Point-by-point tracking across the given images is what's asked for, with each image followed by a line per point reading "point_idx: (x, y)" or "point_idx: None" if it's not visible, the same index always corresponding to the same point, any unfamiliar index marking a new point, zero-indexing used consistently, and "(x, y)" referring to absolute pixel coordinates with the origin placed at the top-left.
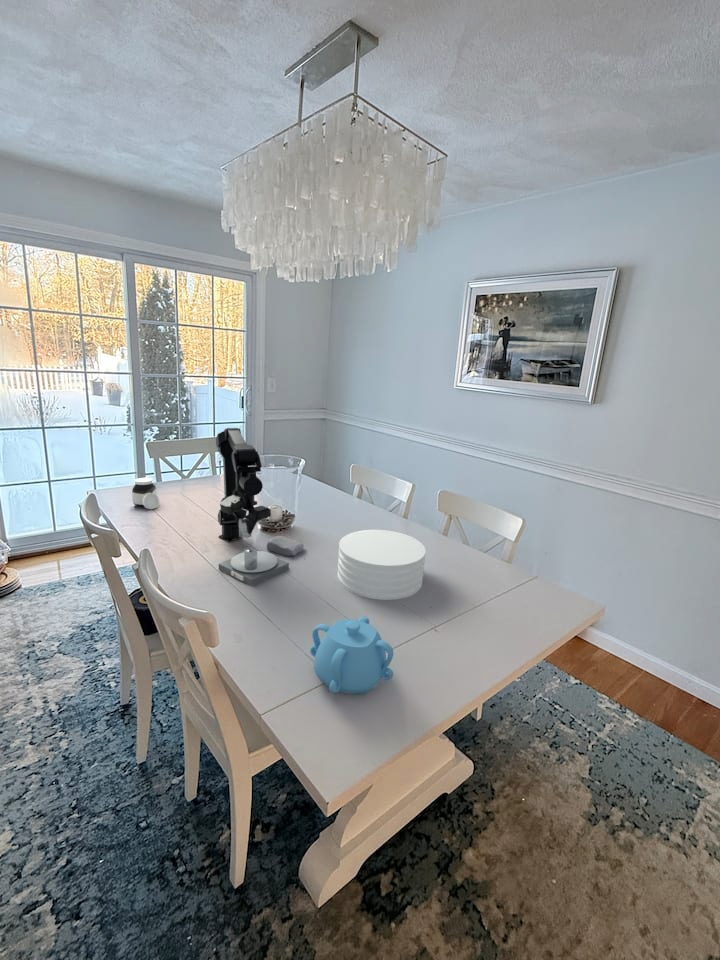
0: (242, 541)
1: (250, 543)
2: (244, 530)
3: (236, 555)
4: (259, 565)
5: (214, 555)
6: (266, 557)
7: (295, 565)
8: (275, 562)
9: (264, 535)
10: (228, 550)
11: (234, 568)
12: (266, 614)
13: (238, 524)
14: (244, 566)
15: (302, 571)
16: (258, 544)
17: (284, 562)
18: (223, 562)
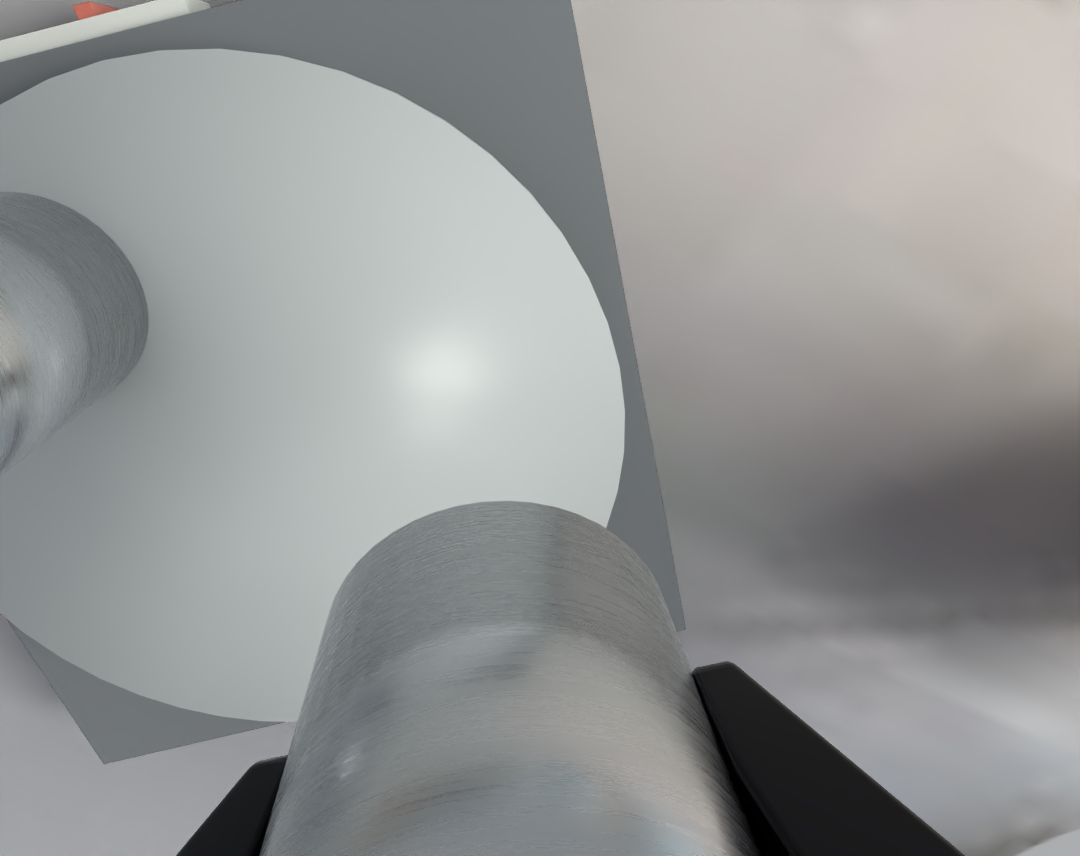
0: (1071, 591)
1: (958, 638)
2: (284, 774)
3: (583, 301)
4: (63, 444)
5: (1004, 112)
6: (292, 623)
7: (180, 781)
8: (83, 653)
9: (1011, 812)
10: (992, 352)
11: (151, 53)
12: None
13: (818, 820)
14: (19, 200)
15: (10, 780)
16: (872, 692)
17: (139, 732)
18: (550, 25)
